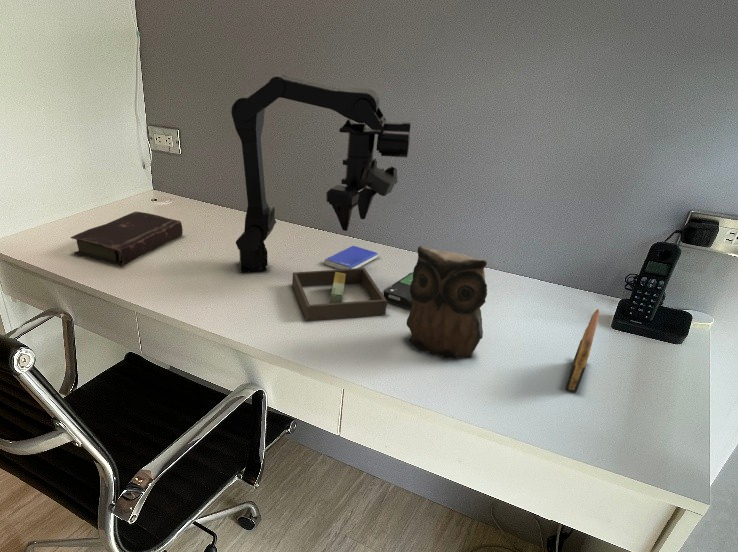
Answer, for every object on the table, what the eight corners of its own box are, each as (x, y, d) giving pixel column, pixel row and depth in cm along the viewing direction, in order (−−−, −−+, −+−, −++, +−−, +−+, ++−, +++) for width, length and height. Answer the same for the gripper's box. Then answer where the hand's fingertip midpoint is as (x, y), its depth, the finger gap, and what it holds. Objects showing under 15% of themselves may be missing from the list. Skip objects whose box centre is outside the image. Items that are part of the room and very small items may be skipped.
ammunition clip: (573, 361, 109) (593, 305, 102) (583, 364, 108) (604, 308, 101) (564, 389, 101) (585, 331, 95) (576, 392, 101) (598, 334, 94)
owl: (479, 360, 109) (503, 263, 98) (415, 364, 108) (431, 266, 97) (456, 328, 120) (475, 236, 108) (397, 331, 119) (410, 239, 107)
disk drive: (423, 315, 125) (452, 290, 134) (425, 303, 123) (454, 280, 132) (381, 301, 130) (412, 279, 139) (383, 290, 128) (413, 268, 138)
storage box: (306, 321, 122) (307, 306, 120) (292, 285, 137) (292, 272, 135) (385, 315, 124) (387, 300, 122) (363, 281, 139) (364, 267, 137)
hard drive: (350, 267, 142) (378, 252, 149) (324, 258, 146) (352, 244, 154) (350, 273, 143) (377, 258, 150) (324, 264, 147) (351, 250, 155)
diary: (184, 237, 163) (182, 220, 160) (124, 268, 145) (121, 249, 142) (134, 226, 171) (132, 209, 168) (72, 254, 153) (68, 236, 150)
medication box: (339, 312, 126) (343, 296, 123) (327, 310, 126) (330, 294, 123) (343, 287, 135) (346, 272, 133) (331, 286, 135) (334, 270, 133)
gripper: (376, 169, 114) (368, 244, 123) (411, 150, 126) (402, 219, 135) (327, 161, 119) (323, 234, 128) (365, 144, 131) (359, 211, 140)
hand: (354, 224), depth 133 cm, fingers open, 9 cm apart
